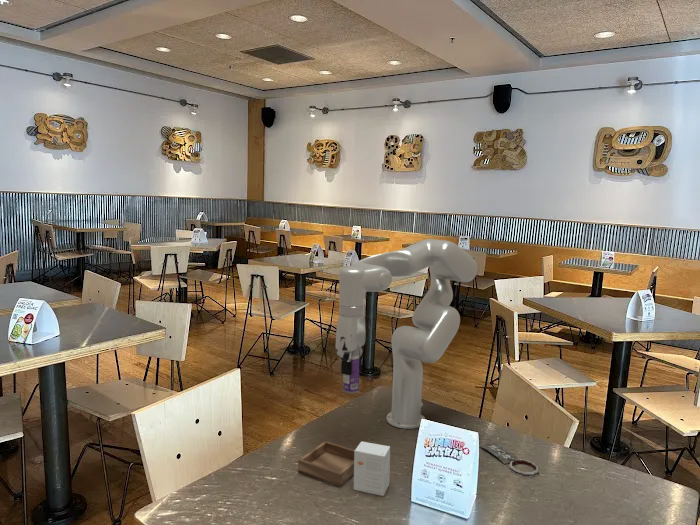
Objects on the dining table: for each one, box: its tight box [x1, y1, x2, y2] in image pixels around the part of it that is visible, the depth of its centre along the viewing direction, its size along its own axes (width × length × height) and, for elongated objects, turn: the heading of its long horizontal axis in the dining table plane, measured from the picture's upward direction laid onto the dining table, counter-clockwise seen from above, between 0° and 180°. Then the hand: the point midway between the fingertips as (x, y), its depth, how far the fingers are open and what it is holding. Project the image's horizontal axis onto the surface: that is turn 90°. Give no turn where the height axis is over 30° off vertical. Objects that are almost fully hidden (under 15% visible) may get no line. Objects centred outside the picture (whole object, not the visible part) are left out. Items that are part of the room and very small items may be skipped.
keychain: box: [479, 442, 539, 478], centre depth 147 cm, size 8×19×2 cm, turn 25°
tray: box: [297, 440, 355, 488], centre depth 139 cm, size 13×13×4 cm
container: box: [342, 344, 360, 394], centre depth 151 cm, size 5×5×15 cm
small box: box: [353, 441, 391, 497], centre depth 130 cm, size 8×6×10 cm
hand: (351, 370), depth 152 cm, fingers closed on container, 4 cm apart
